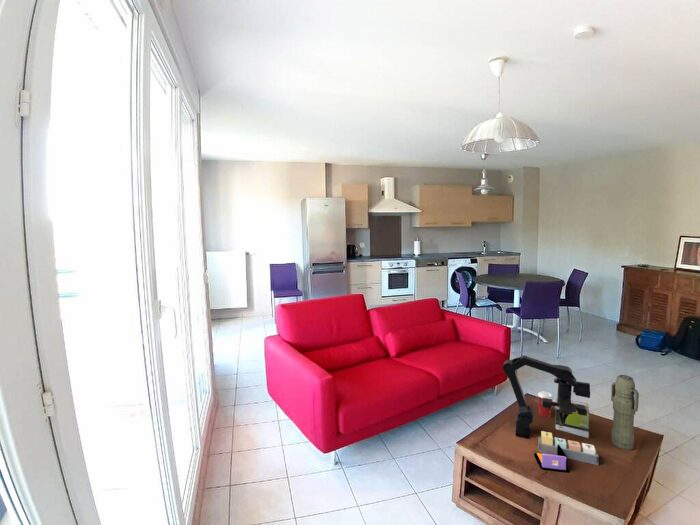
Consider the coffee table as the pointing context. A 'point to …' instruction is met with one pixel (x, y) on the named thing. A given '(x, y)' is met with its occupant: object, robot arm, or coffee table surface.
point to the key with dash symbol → (574, 446)
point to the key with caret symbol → (560, 442)
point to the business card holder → (553, 461)
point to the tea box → (574, 422)
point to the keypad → (569, 453)
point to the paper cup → (542, 410)
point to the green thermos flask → (624, 411)
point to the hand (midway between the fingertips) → (562, 422)
